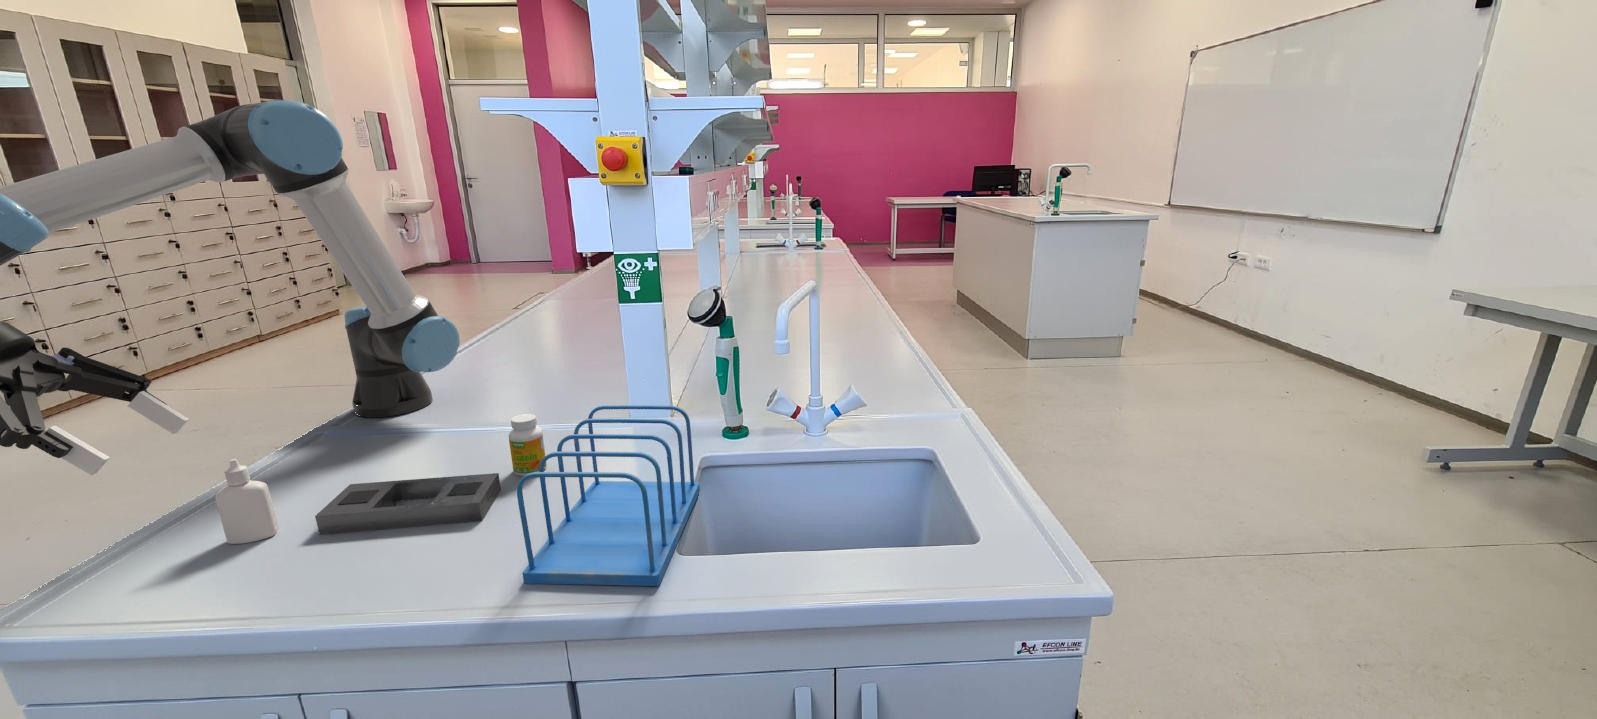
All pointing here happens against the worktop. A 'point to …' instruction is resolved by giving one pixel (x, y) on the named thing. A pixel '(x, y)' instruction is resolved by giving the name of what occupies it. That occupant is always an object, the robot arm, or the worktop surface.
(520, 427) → the supplement bottle
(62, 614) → the worktop surface
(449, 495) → the grey compartment tray
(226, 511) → the eye dropper bottle
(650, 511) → the file sorter
